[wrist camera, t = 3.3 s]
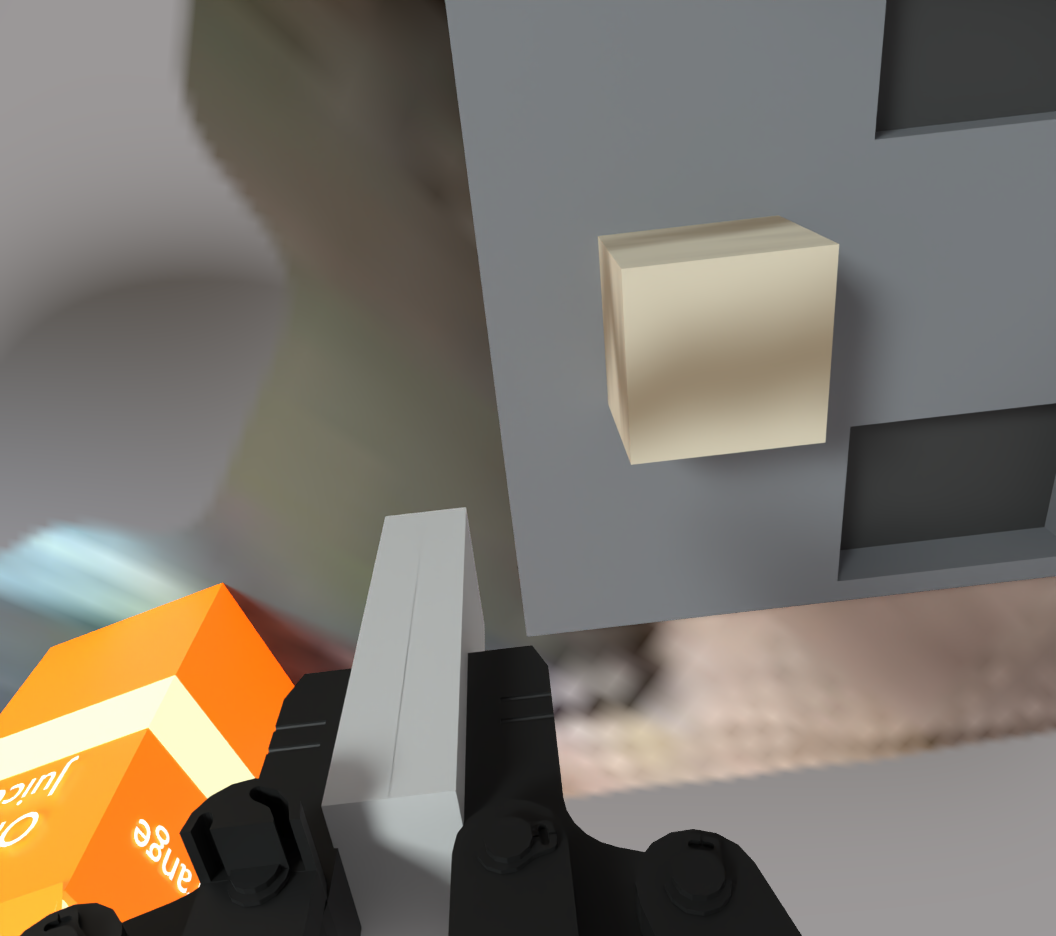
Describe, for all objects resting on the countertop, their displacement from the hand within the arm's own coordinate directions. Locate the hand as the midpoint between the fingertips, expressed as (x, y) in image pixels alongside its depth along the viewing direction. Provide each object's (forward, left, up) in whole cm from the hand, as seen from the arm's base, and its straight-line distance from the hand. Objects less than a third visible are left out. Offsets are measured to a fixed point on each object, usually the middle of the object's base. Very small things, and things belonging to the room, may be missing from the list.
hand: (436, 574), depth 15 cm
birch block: (0, +8, -14) cm, 16 cm away
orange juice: (+15, -15, -17) cm, 27 cm away
